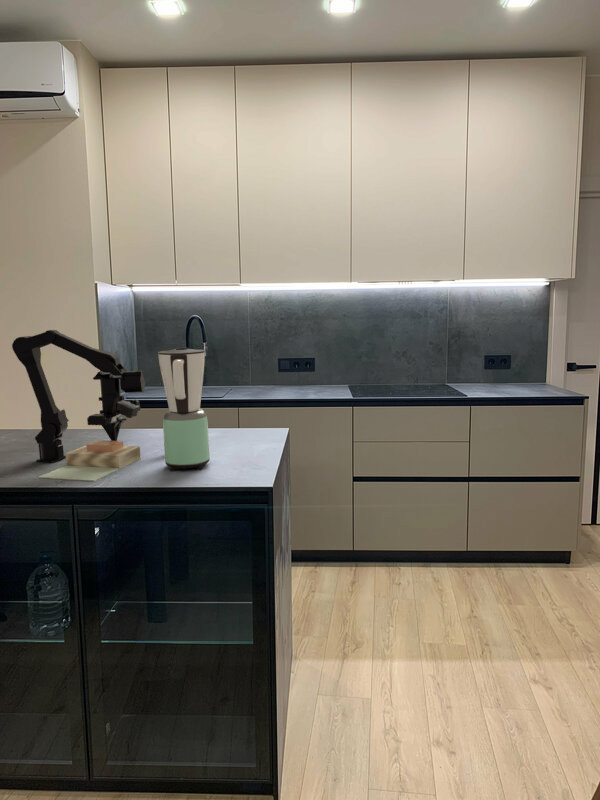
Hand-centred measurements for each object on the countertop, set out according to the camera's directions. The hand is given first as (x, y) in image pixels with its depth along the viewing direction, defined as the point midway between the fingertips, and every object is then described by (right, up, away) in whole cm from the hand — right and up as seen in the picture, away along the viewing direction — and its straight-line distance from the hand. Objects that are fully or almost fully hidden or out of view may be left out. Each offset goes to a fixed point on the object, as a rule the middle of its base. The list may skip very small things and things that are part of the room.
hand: (114, 442), depth 190 cm
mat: (-5, -8, -17) cm, 19 cm away
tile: (-1, -2, -5) cm, 5 cm away
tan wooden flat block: (-1, -6, -5) cm, 8 cm away
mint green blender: (+26, -7, -13) cm, 29 cm away
